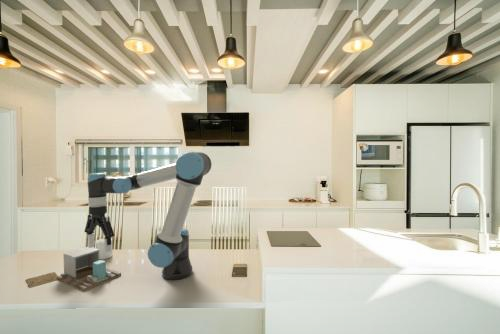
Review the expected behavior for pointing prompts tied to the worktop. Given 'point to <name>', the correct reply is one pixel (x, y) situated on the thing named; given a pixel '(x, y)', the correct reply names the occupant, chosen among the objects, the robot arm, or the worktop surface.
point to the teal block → (99, 269)
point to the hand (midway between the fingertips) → (99, 249)
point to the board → (87, 278)
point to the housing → (79, 260)
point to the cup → (103, 249)
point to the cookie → (41, 279)
